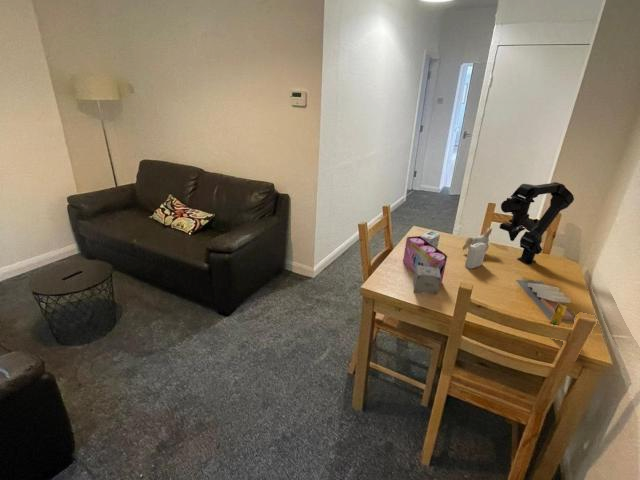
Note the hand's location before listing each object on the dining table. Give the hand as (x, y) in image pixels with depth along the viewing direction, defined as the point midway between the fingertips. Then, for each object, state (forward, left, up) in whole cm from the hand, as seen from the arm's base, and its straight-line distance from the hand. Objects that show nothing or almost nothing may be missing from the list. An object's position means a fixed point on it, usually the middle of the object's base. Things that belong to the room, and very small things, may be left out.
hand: (511, 240), depth 167 cm
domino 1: (+9, +20, -12) cm, 25 cm away
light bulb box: (+28, -27, -13) cm, 41 cm away
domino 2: (+12, +24, -12) cm, 29 cm away
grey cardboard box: (+56, -1, -13) cm, 58 cm away
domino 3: (+14, +27, -12) cm, 32 cm away
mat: (+15, +28, -13) cm, 34 cm away
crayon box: (+34, +41, -13) cm, 55 cm away
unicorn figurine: (+1, -18, -13) cm, 22 cm away
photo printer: (+17, -6, -13) cm, 22 cm away
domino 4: (+16, +30, -12) cm, 36 cm away
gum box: (+45, -13, -13) cm, 49 cm away
